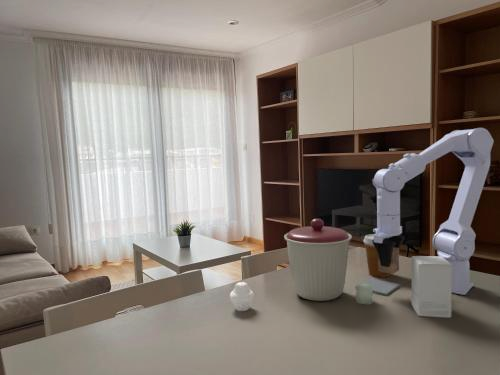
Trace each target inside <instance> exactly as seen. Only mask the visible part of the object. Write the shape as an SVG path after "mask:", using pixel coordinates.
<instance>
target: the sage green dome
mask: <svg viewBox="0 0 500 375" xmlns="http://www.w3.org/2000/svg"><path fill="white" fill-rule="evenodd" d="M355 289H356V291H355V292H356V293H355V294H356V295H355V296H356V297H355V298H356V300H355V301H356V303H358V304H360V305H371V304H373V292H372V286H371V285H369V284H361V283H359V284H356V286H355Z"/></svg>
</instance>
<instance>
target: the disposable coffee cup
mask: <svg viewBox="0 0 500 375" xmlns="http://www.w3.org/2000/svg"><path fill="white" fill-rule="evenodd" d="M375 234H376V233H373V234H372V233H371V234H367V235H365V236H364V238H363V240H362V241H363V243H364V247H365V253H366V254H365V255H366V256H365V257H366V261H367V268H368V275H369V276H372V277H375V278H388V277H390V276H391V273H386V272H381V271H378V253H377V250H376V248H375V246H374V245H373V243H372V240H373V239H374V235H375Z"/></svg>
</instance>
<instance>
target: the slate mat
mask: <svg viewBox="0 0 500 375" xmlns="http://www.w3.org/2000/svg"><path fill="white" fill-rule="evenodd" d="M360 284H369V285H371V286H372V294H378V295H381V294H382V296H385V297H387V296H389V295H390V294H391V293H392V292H394V291H395V290H396V289H398V288H399V287H400V286H401V285H400V284H399V283H394V282H390V281H385V280H380V279H375V278H370V277H369V278H367V279H366V280H364V281H363V282H361V283H360Z"/></svg>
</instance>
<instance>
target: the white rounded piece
mask: <svg viewBox="0 0 500 375" xmlns="http://www.w3.org/2000/svg"><path fill="white" fill-rule="evenodd" d="M254 297H255V294H254V292H253V291H252V290H251V288H250V287H249V284H248V283H247V282H245V281H240V282H237V283H236V284H235V285H234V288H233V290H232V291H231V292H230V294H229V299H230V302H231V303H232V305H233V306H234V308H235V309H236V311H237V312H245V311H248V310H249V309H250V308H251V305H252V302H253V300H254Z"/></svg>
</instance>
